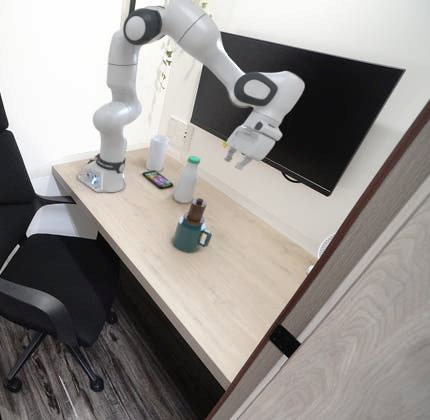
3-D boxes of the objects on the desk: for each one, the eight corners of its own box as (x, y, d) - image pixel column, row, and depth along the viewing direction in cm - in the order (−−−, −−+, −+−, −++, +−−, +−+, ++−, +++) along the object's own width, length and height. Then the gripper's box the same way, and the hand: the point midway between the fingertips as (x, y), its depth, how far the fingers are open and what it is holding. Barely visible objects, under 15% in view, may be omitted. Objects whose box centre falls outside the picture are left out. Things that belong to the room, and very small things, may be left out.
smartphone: (155, 169, 161) (174, 184, 149) (154, 171, 161) (174, 186, 150) (141, 172, 158) (160, 187, 147) (141, 174, 159) (160, 189, 147)
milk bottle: (192, 204, 138) (206, 163, 126) (174, 202, 139) (185, 161, 128) (190, 195, 144) (203, 154, 133) (172, 193, 146) (183, 152, 134)
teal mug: (167, 243, 118) (175, 219, 111) (179, 232, 123) (187, 208, 116) (198, 260, 111) (208, 235, 104) (209, 248, 116) (219, 223, 110)
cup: (165, 170, 162) (172, 140, 153) (150, 172, 160) (157, 142, 151) (156, 163, 169) (163, 134, 159) (142, 164, 167) (148, 135, 157)
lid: (179, 219, 111) (186, 198, 106) (188, 211, 115) (195, 190, 110) (198, 228, 107) (206, 207, 102) (207, 219, 111) (215, 198, 106)
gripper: (237, 117, 111) (212, 153, 116) (267, 127, 92) (236, 169, 98) (253, 125, 111) (227, 160, 117) (285, 137, 93) (253, 178, 98)
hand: (231, 164), depth 107 cm, fingers open, 8 cm apart
